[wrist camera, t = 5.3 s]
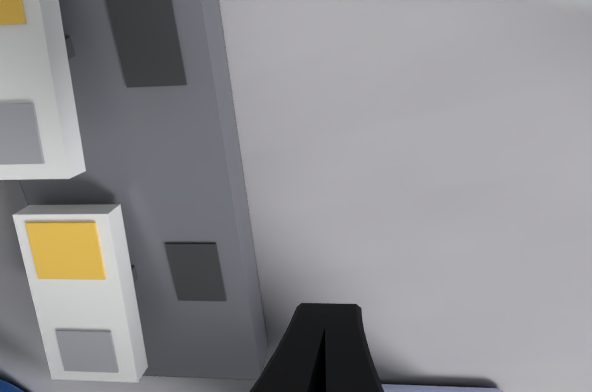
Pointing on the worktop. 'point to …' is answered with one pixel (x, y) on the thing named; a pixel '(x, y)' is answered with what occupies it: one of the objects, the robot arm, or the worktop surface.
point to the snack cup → (8, 387)
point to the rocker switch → (83, 291)
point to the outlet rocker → (36, 95)
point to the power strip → (167, 177)
